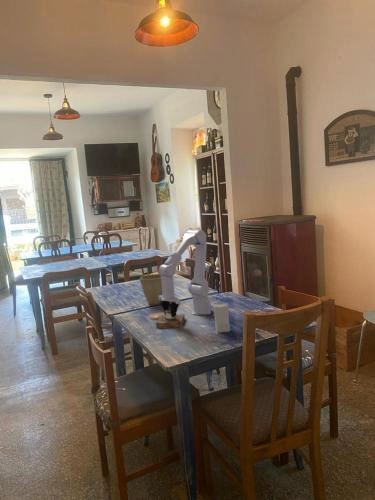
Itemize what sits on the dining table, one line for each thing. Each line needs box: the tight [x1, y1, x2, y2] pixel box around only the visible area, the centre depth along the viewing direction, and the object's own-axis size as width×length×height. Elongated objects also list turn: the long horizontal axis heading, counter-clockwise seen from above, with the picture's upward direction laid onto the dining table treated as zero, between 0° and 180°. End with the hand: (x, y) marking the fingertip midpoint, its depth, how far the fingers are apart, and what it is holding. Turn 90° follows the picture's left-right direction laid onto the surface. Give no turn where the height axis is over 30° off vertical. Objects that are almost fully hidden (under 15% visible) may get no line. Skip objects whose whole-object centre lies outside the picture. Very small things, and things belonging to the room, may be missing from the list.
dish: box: [149, 312, 165, 321], centre depth 199 cm, size 9×9×1 cm
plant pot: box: [139, 273, 163, 305], centre depth 226 cm, size 15×15×16 cm
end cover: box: [165, 307, 175, 320], centre depth 187 cm, size 5×5×7 cm
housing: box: [155, 313, 186, 329], centre depth 187 cm, size 12×12×2 cm
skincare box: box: [213, 303, 231, 334], centre depth 171 cm, size 6×4×12 cm
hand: (170, 315), depth 187 cm, fingers closed on end cover, 5 cm apart
